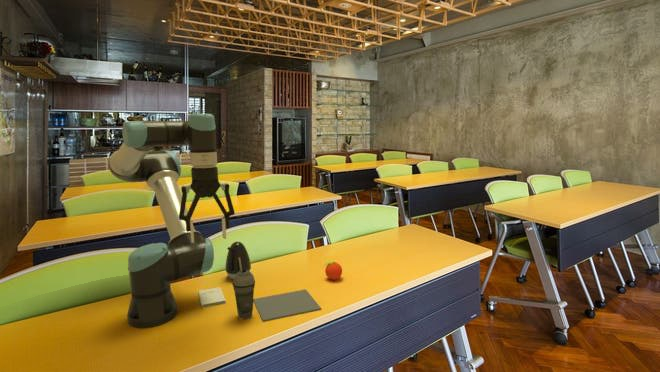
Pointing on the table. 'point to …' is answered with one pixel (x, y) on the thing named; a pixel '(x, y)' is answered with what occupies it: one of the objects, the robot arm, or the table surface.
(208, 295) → the external hard drive
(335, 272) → the clementine
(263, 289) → the table surface
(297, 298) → the mat
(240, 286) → the beverage cup
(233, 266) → the black tapered dome
